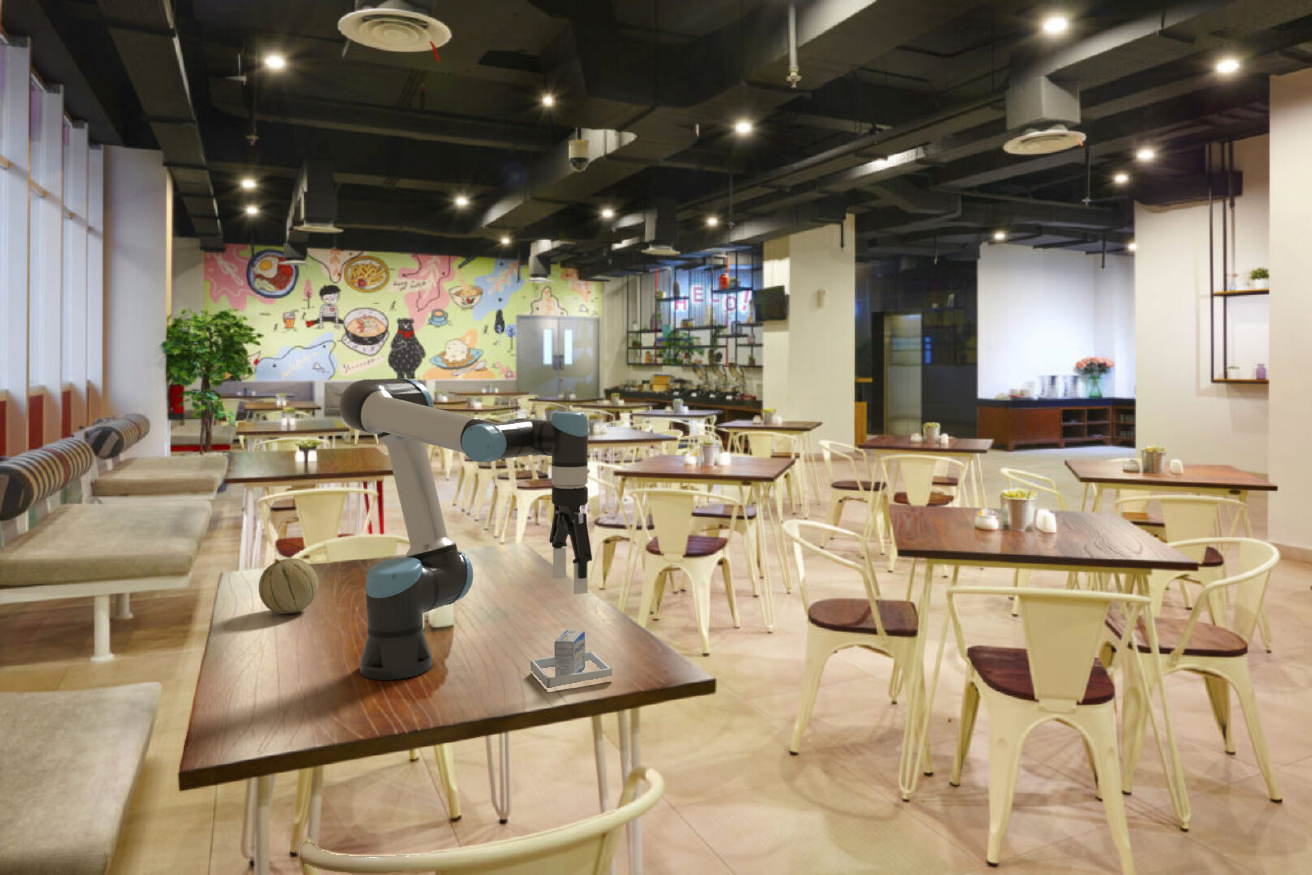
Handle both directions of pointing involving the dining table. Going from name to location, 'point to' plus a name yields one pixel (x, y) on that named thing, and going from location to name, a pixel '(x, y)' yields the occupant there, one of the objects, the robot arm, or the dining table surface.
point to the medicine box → (570, 653)
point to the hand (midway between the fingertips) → (569, 585)
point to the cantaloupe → (288, 586)
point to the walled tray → (570, 678)
